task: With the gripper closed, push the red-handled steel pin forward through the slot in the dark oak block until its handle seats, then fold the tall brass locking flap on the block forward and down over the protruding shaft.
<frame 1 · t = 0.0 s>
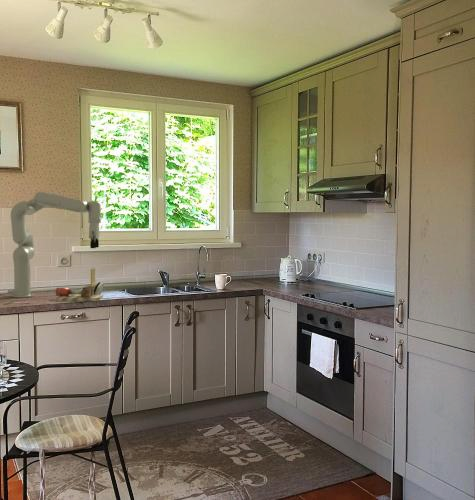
hand: (94, 247, 356), 31 cm above the worktop, tool pointing down, fingers open, 9 cm apart
flap: (93, 277, 345), point 14 cm above the worktop, hinge at 0.0°
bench: (80, 299, 345), on the worktop
hinge: (96, 296, 364), on the worktop
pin: (72, 291, 345), point 5 cm above the worktop, slide at 0.0 cm
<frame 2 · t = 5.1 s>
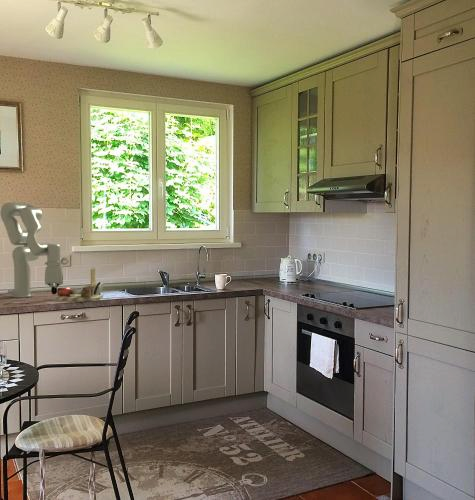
hand: (54, 294, 344), 3 cm above the worktop, tool pointing down, fingers closed
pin: (74, 291, 345), point 5 cm above the worktop, slide at 0.9 cm, touching gripper
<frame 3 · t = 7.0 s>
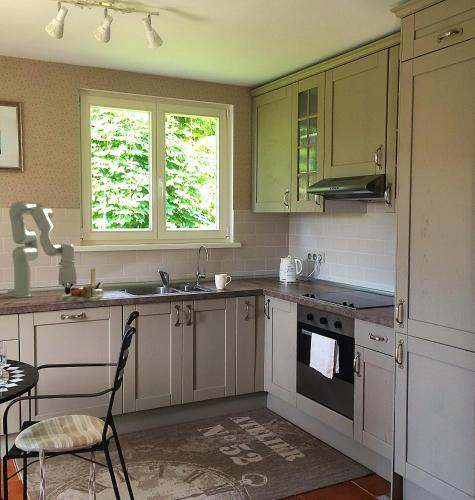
hand: (67, 294, 345), 3 cm above the worktop, tool pointing down, fingers closed
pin: (87, 292, 345), point 5 cm above the worktop, slide at 9.0 cm, touching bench, gripper
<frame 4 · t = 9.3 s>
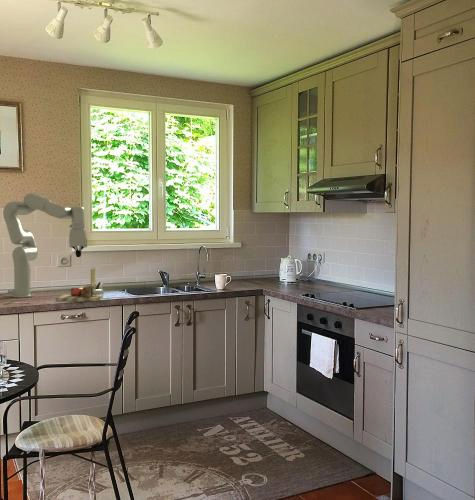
hand: (78, 256, 344), 26 cm above the worktop, tool pointing down, fingers closed
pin: (87, 292, 345), point 5 cm above the worktop, slide at 9.0 cm, touching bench
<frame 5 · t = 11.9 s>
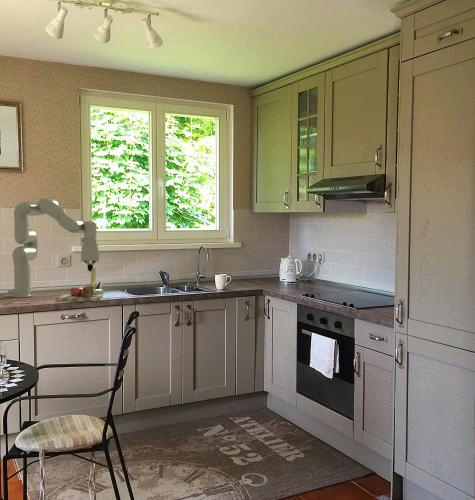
hand: (90, 271, 345), 18 cm above the worktop, tool pointing down, fingers closed
flap: (93, 277, 345), point 14 cm above the worktop, hinge at 2.4°, touching gripper
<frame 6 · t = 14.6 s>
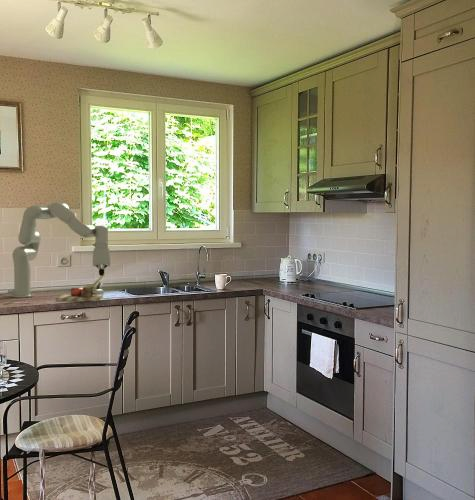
hand: (101, 275, 345), 15 cm above the worktop, tool pointing down, fingers closed
flap: (98, 280, 346), point 12 cm above the worktop, hinge at 46.5°, touching gripper
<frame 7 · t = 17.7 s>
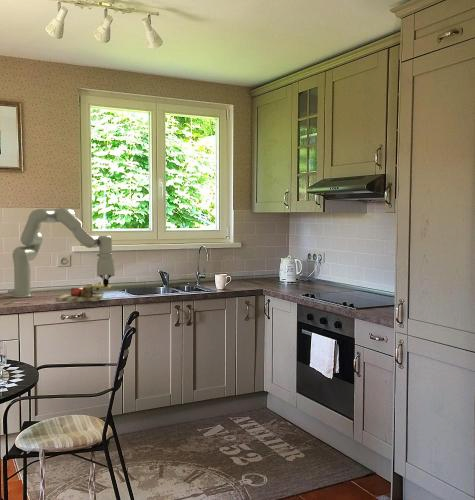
hand: (105, 285, 346), 9 cm above the worktop, tool pointing down, fingers closed
flap: (101, 286, 346), point 8 cm above the worktop, hinge at 93.3°, touching gripper
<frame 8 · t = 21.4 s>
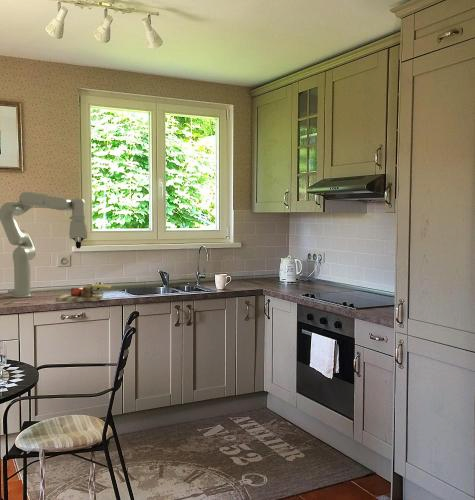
hand: (78, 248, 351), 31 cm above the worktop, tool pointing down, fingers closed
flap: (101, 286, 346), point 8 cm above the worktop, hinge at 93.4°
at the end: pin slide at 9.0 cm; flap at +93° (first picture: +0°) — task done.
